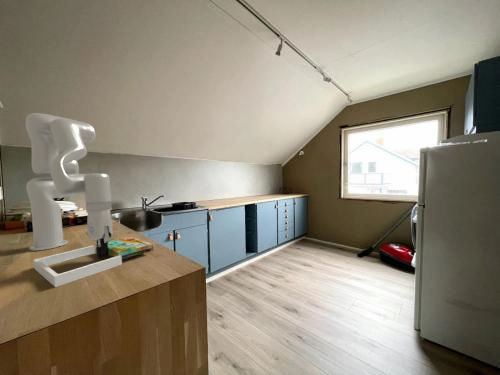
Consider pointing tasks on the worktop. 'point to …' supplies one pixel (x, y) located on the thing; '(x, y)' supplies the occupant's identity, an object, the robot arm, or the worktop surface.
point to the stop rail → (150, 248)
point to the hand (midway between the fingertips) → (102, 256)
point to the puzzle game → (127, 247)
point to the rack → (75, 274)
